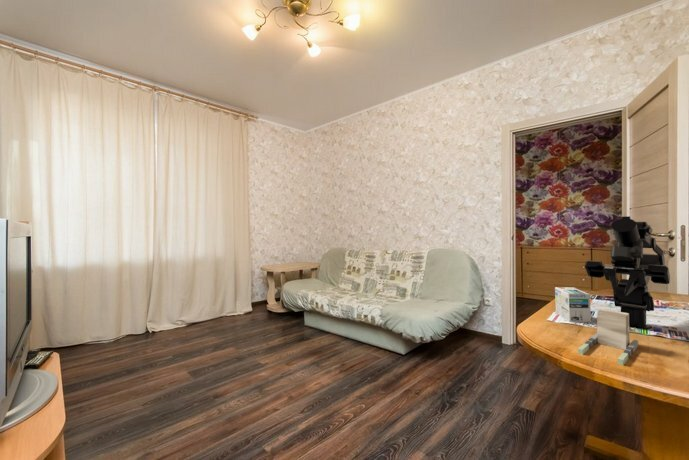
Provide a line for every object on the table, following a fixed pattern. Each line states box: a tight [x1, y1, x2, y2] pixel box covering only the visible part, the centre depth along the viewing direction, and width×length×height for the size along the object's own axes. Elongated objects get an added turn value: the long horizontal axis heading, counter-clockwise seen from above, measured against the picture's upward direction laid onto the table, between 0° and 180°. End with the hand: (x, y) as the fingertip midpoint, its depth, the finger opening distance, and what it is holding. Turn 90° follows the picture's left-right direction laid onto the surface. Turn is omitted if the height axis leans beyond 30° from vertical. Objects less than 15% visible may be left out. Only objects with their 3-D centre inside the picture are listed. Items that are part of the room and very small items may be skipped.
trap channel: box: [577, 331, 639, 366], centre depth 83 cm, size 17×9×2 cm, turn 127°
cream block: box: [596, 308, 630, 351], centre depth 86 cm, size 4×6×9 cm, turn 37°
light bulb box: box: [554, 286, 592, 323], centre depth 109 cm, size 11×7×11 cm, turn 168°
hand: (620, 294), depth 91 cm, fingers closed
